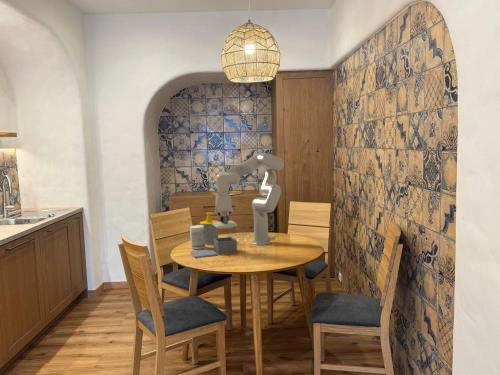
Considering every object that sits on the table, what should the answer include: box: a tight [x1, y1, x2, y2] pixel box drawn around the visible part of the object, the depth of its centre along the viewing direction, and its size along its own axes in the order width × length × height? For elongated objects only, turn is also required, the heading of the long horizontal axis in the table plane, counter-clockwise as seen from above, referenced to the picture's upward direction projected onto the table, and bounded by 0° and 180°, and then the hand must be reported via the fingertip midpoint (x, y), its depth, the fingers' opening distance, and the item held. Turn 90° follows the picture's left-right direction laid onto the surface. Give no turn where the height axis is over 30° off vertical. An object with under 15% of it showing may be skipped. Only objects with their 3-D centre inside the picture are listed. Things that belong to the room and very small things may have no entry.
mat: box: [190, 248, 218, 259], centre depth 265 cm, size 14×14×1 cm
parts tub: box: [213, 236, 238, 256], centre depth 269 cm, size 12×12×8 cm
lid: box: [212, 213, 238, 230], centre depth 267 cm, size 13×13×7 cm
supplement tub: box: [189, 224, 206, 250], centre depth 281 cm, size 10×10×15 cm
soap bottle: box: [199, 212, 219, 245], centre depth 296 cm, size 13×13×21 cm
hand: (224, 222), depth 268 cm, fingers closed on lid
